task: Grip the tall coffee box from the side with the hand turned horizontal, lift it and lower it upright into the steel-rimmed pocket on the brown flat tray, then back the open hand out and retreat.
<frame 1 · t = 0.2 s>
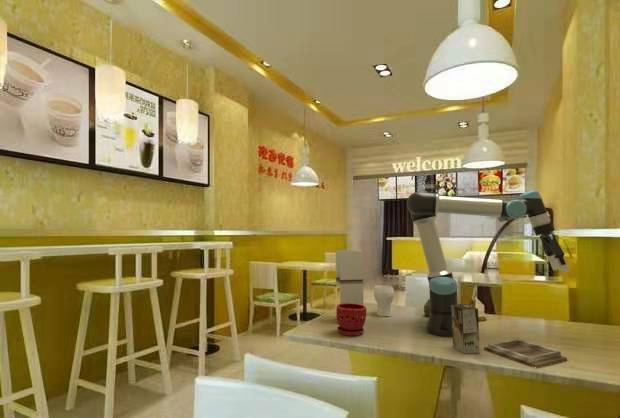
hand: (561, 271, 154), 27 cm above the table, tool tilted 15°, fingers open, 13 cm apart
coffee box: (465, 350, 134), on the table
plant pot: (351, 333, 156), on the table
vase: (430, 317, 186), on the table
brown flat tray: (523, 354, 127), on the table
white banded column: (349, 321, 178), on the table
decorated donut: (474, 319, 181), on the table
cup: (384, 315, 190), on the table
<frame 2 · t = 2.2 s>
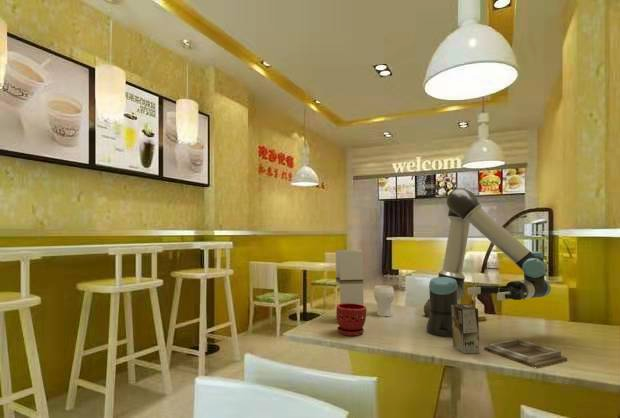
hand: (482, 294, 139), 20 cm above the table, tool horizontal, fingers open, 13 cm apart
nothing on the table moved.
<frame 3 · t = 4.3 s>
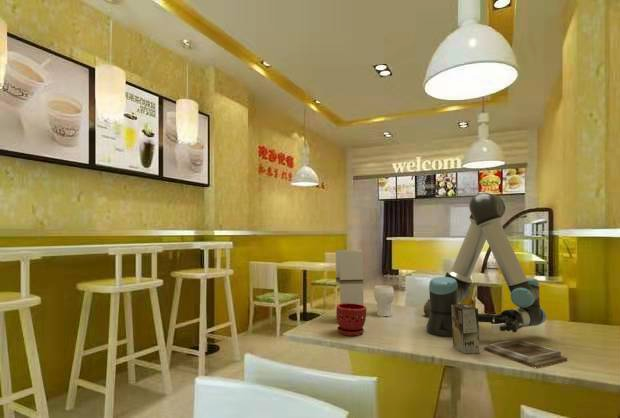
hand: (476, 324, 135), 9 cm above the table, tool horizontal, fingers open, 13 cm apart
nothing on the table moved.
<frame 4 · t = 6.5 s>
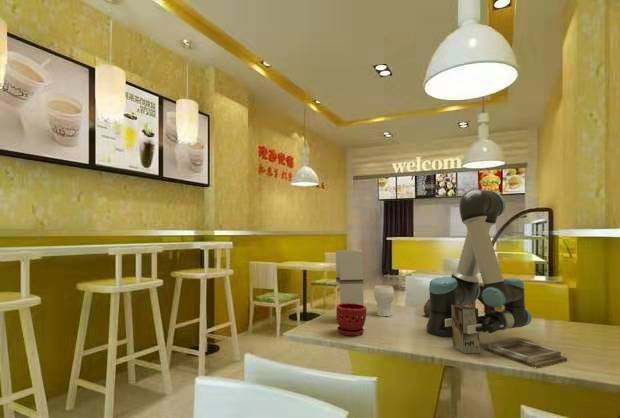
hand: (456, 326, 133), 9 cm above the table, tool horizontal, fingers closed on coffee box, 10 cm apart
coffee box: (465, 350, 134), on the table, touching gripper
everything else where it was.
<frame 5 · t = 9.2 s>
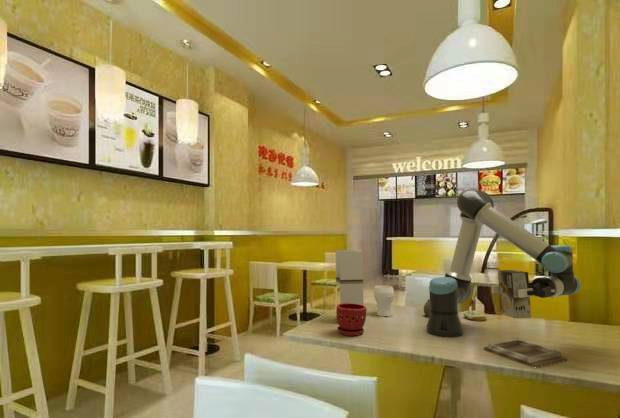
hand: (505, 291, 127), 23 cm above the table, tool horizontal, fingers closed on coffee box, 10 cm apart
coffee box: (515, 316, 128), point 14 cm above the table, touching gripper
everything else where it was.
when the fingers open (11 cm above the table, at t = 12.1 s): coffee box stays where it is, resting on brown flat tray.
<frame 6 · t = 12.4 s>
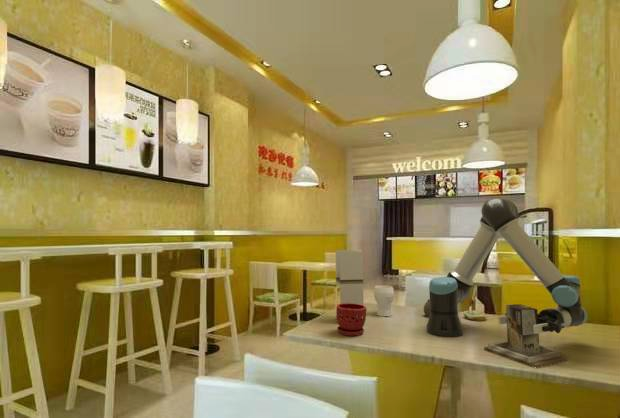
hand: (515, 324, 127), 11 cm above the table, tool horizontal, fingers open, 13 cm apart
coffee box: (523, 352, 127), point 1 cm above the table, touching brown flat tray
everything else where it was.
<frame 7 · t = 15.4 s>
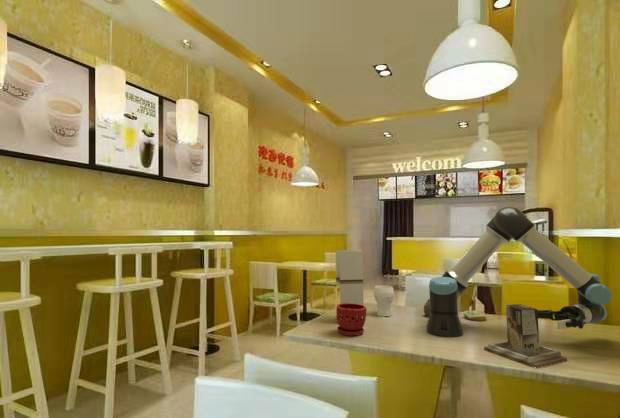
hand: (539, 320, 132), 11 cm above the table, tool horizontal, fingers open, 13 cm apart
nothing on the table moved.
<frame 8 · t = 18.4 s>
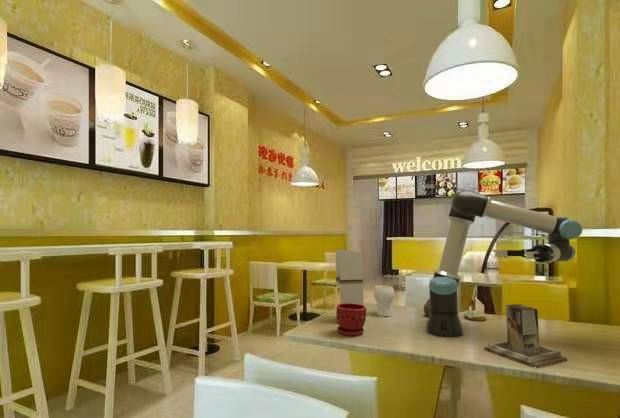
hand: (510, 254, 142), 35 cm above the table, tool horizontal, fingers open, 13 cm apart
nothing on the table moved.
at the end: coffee box inside the target area on the brown flat tray (0.1 cm from its centre), point 0.8 cm above the brown flat tray's base; coffee box tilted 0°; the gripper is holding nothing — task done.
